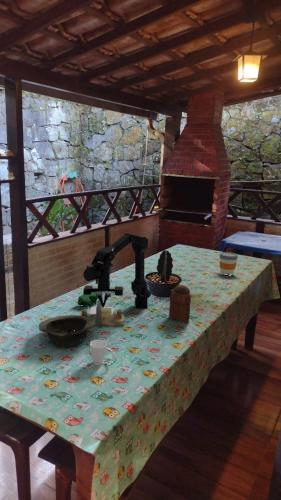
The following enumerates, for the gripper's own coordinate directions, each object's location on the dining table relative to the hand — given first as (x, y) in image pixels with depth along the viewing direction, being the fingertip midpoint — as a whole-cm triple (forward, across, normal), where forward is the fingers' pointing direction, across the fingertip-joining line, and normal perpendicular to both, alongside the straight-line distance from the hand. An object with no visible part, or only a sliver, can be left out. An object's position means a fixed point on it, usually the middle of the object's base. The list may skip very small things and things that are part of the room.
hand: (103, 307), depth 177 cm
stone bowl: (+8, +15, +17) cm, 24 cm away
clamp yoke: (+8, +2, 0) cm, 8 cm away
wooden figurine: (+8, -38, -6) cm, 40 cm away
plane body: (+8, +1, 0) cm, 8 cm away
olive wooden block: (+5, 0, 0) cm, 5 cm away
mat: (+8, +2, -12) cm, 14 cm away
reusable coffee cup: (+8, -83, -84) cm, 118 cm away
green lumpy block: (+8, +9, -22) cm, 25 cm away
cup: (+8, -2, +37) cm, 38 cm away
